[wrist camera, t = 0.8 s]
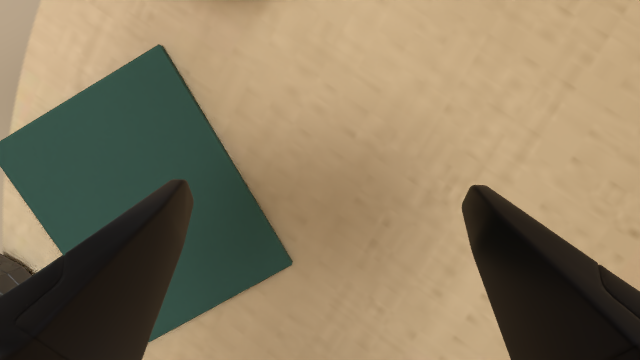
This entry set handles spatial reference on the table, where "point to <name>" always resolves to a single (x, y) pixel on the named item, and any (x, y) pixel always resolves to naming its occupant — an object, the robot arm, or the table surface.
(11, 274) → the dish
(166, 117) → the desk mat
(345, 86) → the table surface
